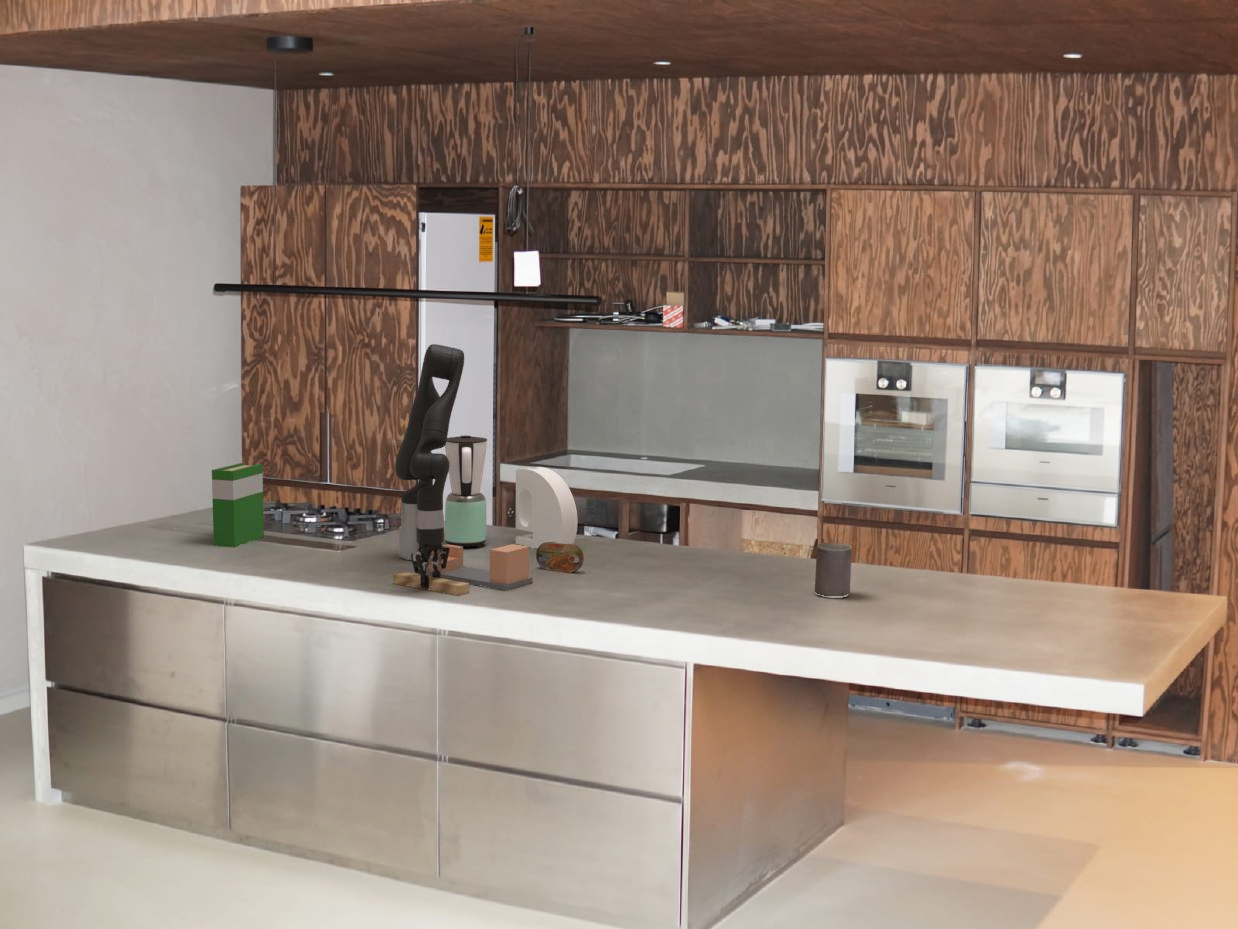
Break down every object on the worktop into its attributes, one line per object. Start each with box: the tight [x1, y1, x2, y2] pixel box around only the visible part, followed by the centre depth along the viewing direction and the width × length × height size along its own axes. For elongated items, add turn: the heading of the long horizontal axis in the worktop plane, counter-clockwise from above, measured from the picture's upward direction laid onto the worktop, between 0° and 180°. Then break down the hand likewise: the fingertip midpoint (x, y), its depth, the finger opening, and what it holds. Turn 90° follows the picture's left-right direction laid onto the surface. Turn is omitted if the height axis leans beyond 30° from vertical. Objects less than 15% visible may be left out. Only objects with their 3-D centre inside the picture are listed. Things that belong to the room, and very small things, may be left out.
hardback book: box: [211, 462, 265, 548], centre depth 448 cm, size 18×7×24 cm, turn 164°
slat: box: [392, 571, 470, 597], centre depth 388 cm, size 24×4×3 cm, turn 56°
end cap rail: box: [424, 543, 533, 591], centre depth 399 cm, size 31×12×10 cm, turn 56°
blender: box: [444, 435, 488, 549], centre depth 444 cm, size 19×13×35 cm
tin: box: [535, 542, 585, 574], centre depth 413 cm, size 15×3×8 cm, turn 62°
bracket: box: [515, 466, 578, 549], centre depth 444 cm, size 7×21×25 cm, turn 48°
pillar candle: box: [814, 541, 853, 596], centre depth 386 cm, size 10×10×15 cm
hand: (430, 586), depth 388 cm, fingers closed on slat, 4 cm apart
